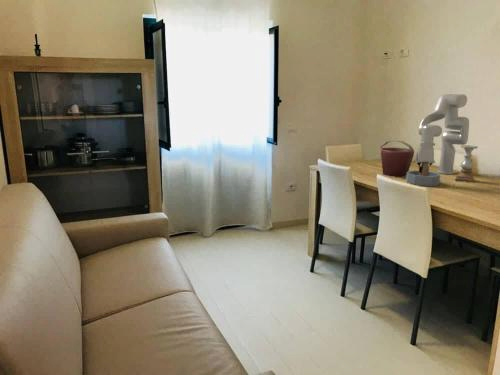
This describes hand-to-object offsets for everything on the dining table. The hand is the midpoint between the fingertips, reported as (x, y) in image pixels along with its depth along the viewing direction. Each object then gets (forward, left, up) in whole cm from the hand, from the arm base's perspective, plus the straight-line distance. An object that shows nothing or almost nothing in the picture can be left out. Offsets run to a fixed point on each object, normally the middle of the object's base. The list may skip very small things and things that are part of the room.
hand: (423, 172), depth 260 cm
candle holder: (-12, +32, -8) cm, 35 cm away
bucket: (-27, -11, -8) cm, 30 cm away
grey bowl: (0, 0, -7) cm, 7 cm away
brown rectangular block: (0, 0, -5) cm, 5 cm away
